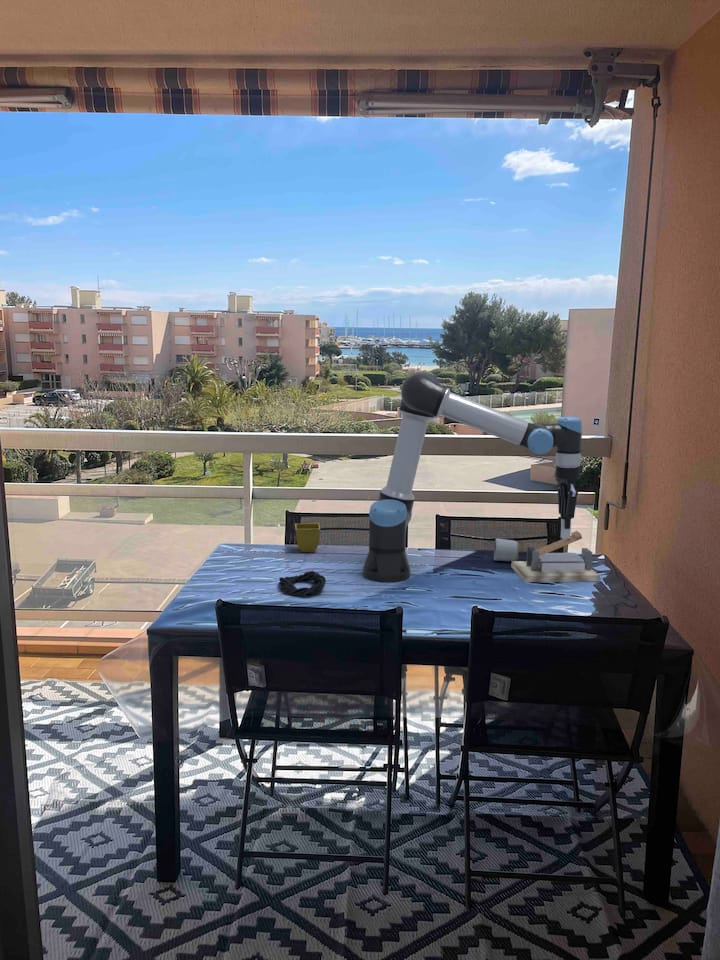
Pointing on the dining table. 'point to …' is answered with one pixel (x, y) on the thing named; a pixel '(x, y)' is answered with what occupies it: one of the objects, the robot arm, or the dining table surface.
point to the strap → (559, 543)
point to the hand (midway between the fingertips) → (565, 537)
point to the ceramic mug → (506, 550)
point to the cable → (308, 576)
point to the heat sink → (559, 561)
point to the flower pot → (307, 536)
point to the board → (552, 574)
